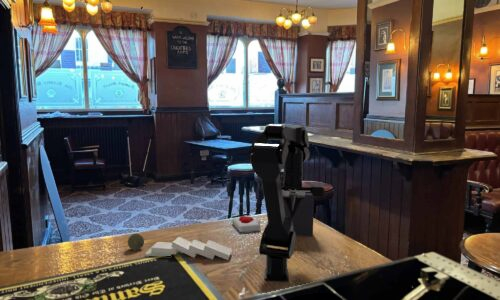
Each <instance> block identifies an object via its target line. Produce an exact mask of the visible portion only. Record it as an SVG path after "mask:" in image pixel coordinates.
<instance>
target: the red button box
mask: <svg viewBox="0 0 500 300" xmlns="http://www.w3.org/2000/svg"><path fill="white" fill-rule="evenodd" d="M231 224H232V225H233V226H234V227H235V228H236V230H237V231H238V232H239V233H240V234H241V233H242V234H243V233H253V232H254V231H255V232H260V231H261V227H262V226H261V221H260V220H259V219H257V218H253V217H252V216H250V215H248V216H245V215H242V216H238V217H237V216H236V217H233V218H232V220H231Z"/></svg>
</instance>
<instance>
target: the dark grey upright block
mask: <svg viewBox="0 0 500 300" xmlns="http://www.w3.org/2000/svg"><path fill="white" fill-rule="evenodd" d="M290 197H291V205H292V209H293V202H294V193H290ZM283 203H284V211H285V217H291V216H290V213H289V209H288V206H287V204H286V202H285V200H284V199H283ZM314 207H315V197H314V196H313V195H312V193H305V199H302V200H301V202H300V204H299V205H298V207H297V210H296V212H295V215H294V217H291V218H292V223H293V230H294V232H295V236H303V237H305V236H306V237H307V236H309V237H310V236H311V237H313V236H314V213H315V212H314Z"/></svg>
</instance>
